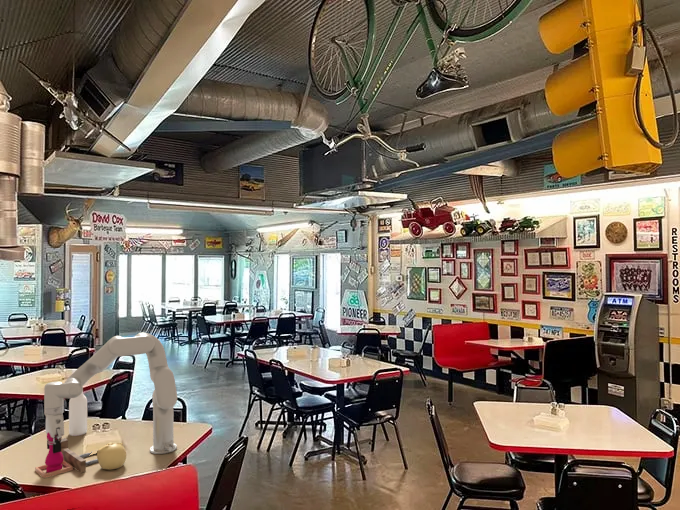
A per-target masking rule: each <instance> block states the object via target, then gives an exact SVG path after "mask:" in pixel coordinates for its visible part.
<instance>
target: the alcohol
mask: <svg viewBox="0 0 680 510" xmlns="http://www.w3.org/2000/svg"><path fill="white" fill-rule="evenodd" d="M87 432H88V399H87V396H86V395H85V394H84V390H83V391H82V393H81V395H80V396H78V397H76V398H69V402H68V434H69V436H72V437H76V436H77V437H78V436H82V435H85V434H87Z"/></svg>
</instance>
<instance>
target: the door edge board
mask: <svg viewBox="0 0 680 510" xmlns="http://www.w3.org/2000/svg"><path fill="white" fill-rule="evenodd" d="M61 452H62V454H63V458H64V461H66V462H67V463H69V464H70V465H71V466H73V469H75V470H76V471H78V472H79V473H80V474H82V473H85V472H86V471H87V470H86V469H87V468H86V467H87V466H86V462H87V460H86V459H85V458H82V457H80V456H79V455H80V454H77V453H76V452H74V451H73V450H71V449H69V439H67V438H65V437H63V438H61Z"/></svg>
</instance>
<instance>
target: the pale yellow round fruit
mask: <svg viewBox="0 0 680 510" xmlns="http://www.w3.org/2000/svg"><path fill="white" fill-rule="evenodd" d="M123 444H124V443H122V442H108V443H106V444H104V446H102V447H100V448H97V454H96V459H98V464H99V467H100V468H101V469H103V470H115V469H118V468H121V467H122V466H124V464H125V463H126V460H127V450H126V448H125V447H124V445H123Z"/></svg>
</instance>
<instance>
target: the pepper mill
mask: <svg viewBox="0 0 680 510" xmlns="http://www.w3.org/2000/svg"><path fill="white" fill-rule="evenodd" d="M56 436H57V435H55V437H56ZM46 439H48V440H49V441H48V444H49V449H48V452H47V454H46V457H45V460H44V465H47V466H48V467H47V468H46V470H45V471H46V473H50V472H53V471H57V470H60V469H63V464H61V463H62V462H63V460H64V458H63V454H62V452H57V453H53V444H54V442H53V438H52V437H51V436H50V434H49V433H47V434H46ZM56 439H57V438H55V440H56Z"/></svg>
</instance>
